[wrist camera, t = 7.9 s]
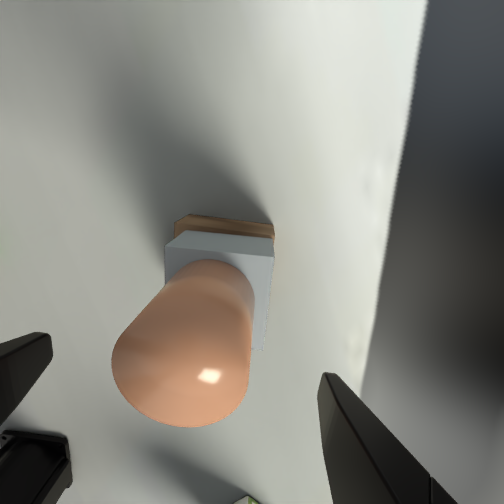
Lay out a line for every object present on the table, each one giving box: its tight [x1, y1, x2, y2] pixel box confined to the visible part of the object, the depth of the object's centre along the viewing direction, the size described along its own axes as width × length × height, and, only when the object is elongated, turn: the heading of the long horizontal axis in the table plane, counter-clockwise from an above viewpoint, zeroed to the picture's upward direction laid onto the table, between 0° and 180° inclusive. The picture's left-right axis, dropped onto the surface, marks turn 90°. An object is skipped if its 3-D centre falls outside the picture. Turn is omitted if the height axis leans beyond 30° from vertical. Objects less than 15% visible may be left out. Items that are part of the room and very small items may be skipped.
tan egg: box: [112, 259, 255, 427], centre depth 11 cm, size 4×4×5 cm
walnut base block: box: [174, 214, 275, 245], centre depth 18 cm, size 6×6×4 cm
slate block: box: [164, 230, 275, 351], centre depth 15 cm, size 5×5×4 cm
